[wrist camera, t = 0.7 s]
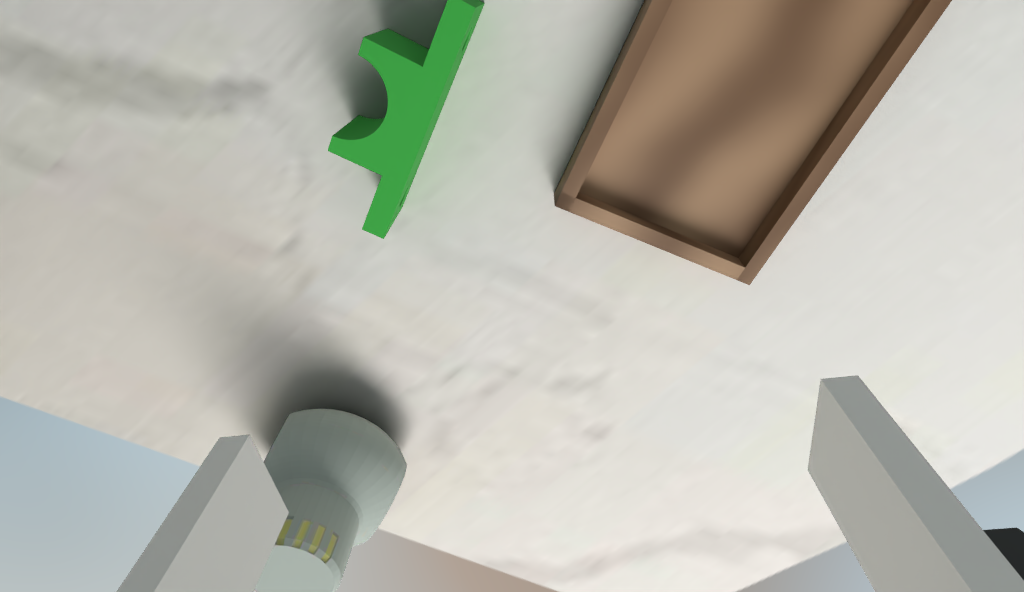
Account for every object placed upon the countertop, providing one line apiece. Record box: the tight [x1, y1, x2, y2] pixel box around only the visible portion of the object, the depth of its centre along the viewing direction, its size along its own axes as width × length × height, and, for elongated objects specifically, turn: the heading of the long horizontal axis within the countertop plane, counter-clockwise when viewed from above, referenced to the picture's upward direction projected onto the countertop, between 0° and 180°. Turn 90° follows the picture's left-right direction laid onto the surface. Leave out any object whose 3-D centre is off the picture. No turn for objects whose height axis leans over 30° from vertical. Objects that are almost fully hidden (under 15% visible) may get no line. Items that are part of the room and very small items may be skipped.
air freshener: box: [254, 409, 407, 592], centre depth 36 cm, size 11×8×10 cm
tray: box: [554, 0, 952, 285], centre depth 27 cm, size 12×17×2 cm
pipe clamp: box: [328, 0, 484, 239], centre depth 27 cm, size 11×4×5 cm, turn 154°
